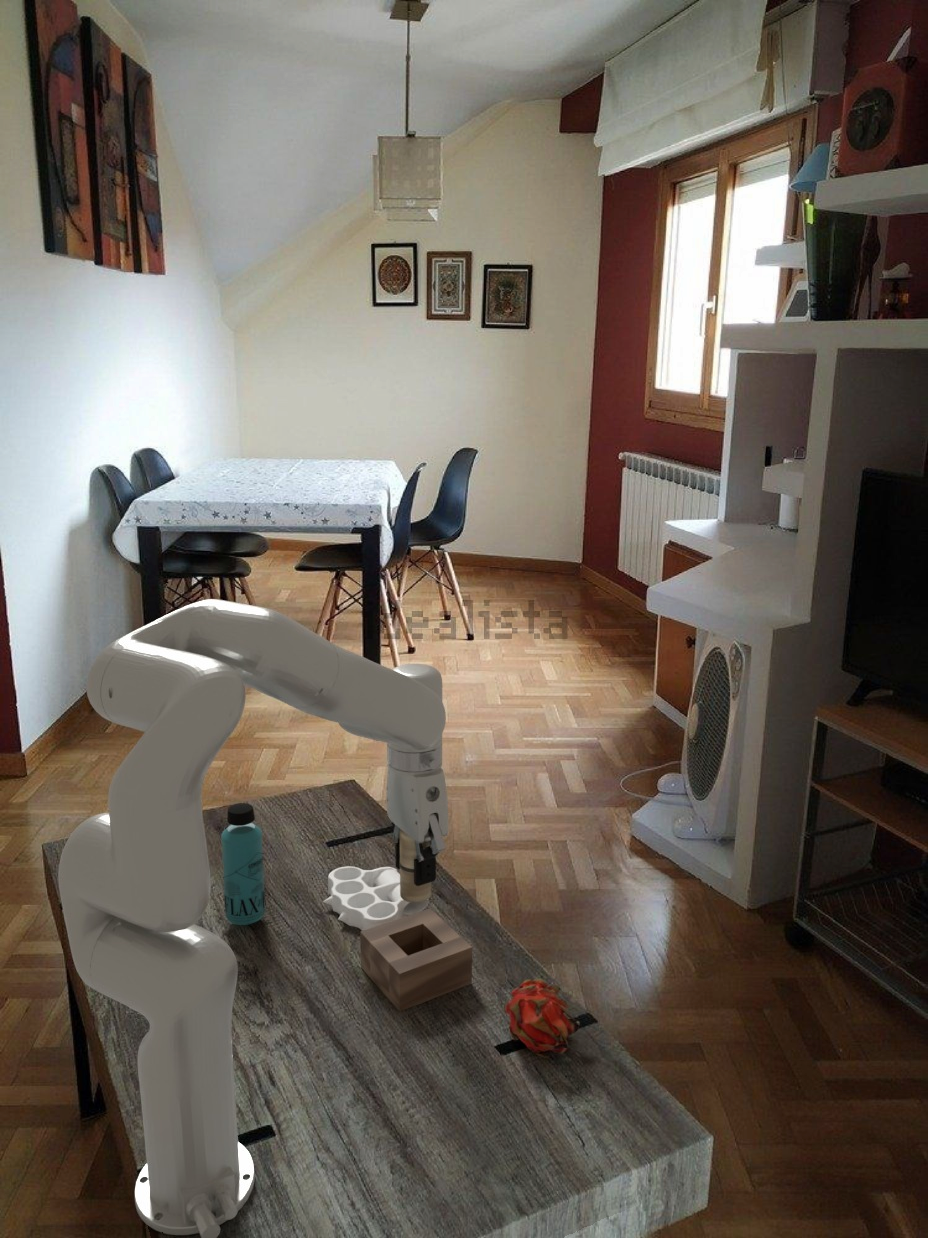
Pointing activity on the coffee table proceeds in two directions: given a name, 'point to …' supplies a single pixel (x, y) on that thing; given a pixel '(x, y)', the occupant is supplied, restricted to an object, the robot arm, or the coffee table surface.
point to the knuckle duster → (368, 896)
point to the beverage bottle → (243, 867)
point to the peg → (411, 871)
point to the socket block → (416, 958)
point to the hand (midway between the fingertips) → (415, 873)
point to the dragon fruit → (540, 1017)
